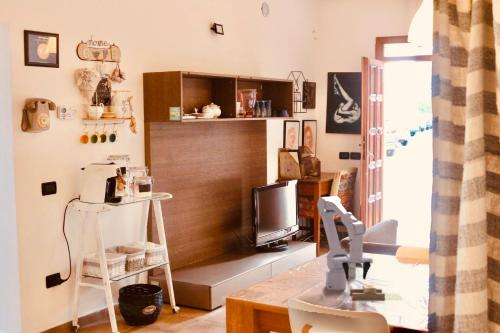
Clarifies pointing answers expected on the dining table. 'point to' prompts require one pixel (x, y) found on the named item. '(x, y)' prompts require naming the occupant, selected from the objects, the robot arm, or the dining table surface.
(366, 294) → the chute
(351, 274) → the light bulb box
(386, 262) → the dining table surface
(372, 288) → the birch block
